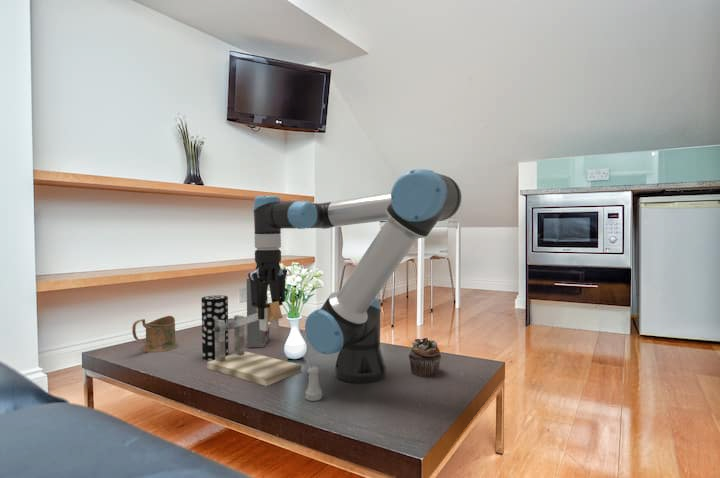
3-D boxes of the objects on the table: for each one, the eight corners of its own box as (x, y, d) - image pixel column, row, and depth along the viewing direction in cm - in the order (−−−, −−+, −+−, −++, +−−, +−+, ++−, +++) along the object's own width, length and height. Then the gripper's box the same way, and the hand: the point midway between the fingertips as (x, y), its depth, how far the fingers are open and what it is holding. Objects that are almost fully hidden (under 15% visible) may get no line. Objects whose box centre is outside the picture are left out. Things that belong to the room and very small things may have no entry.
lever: (282, 317, 123) (278, 301, 124) (273, 319, 120) (269, 302, 121) (233, 333, 136) (229, 318, 137) (224, 335, 133) (220, 320, 134)
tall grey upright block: (264, 347, 152) (263, 278, 151) (246, 348, 152) (246, 278, 151) (269, 337, 166) (269, 274, 165) (254, 338, 166) (253, 274, 165)
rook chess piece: (301, 398, 107) (301, 366, 107) (315, 393, 110) (315, 362, 110) (312, 403, 104) (312, 371, 104) (326, 398, 107) (326, 366, 107)
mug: (120, 355, 144) (120, 320, 143) (160, 342, 160) (159, 310, 160) (147, 358, 140) (147, 322, 140) (185, 344, 157) (184, 312, 156)
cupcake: (447, 372, 125) (447, 339, 125) (426, 380, 119) (426, 345, 119) (423, 364, 133) (423, 332, 132) (401, 371, 126) (401, 338, 126)
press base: (301, 371, 127) (300, 323, 126) (266, 386, 115) (266, 333, 115) (243, 356, 141) (242, 313, 141) (207, 368, 130) (206, 321, 129)
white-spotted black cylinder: (232, 353, 146) (231, 295, 145) (222, 360, 137) (221, 299, 137) (209, 352, 146) (208, 295, 146) (197, 360, 138) (196, 299, 138)
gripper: (279, 247, 132) (280, 322, 133) (236, 250, 119) (238, 333, 119) (296, 248, 128) (298, 324, 129) (254, 250, 115) (256, 336, 115)
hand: (269, 328), depth 124 cm, fingers closed on lever, 3 cm apart
